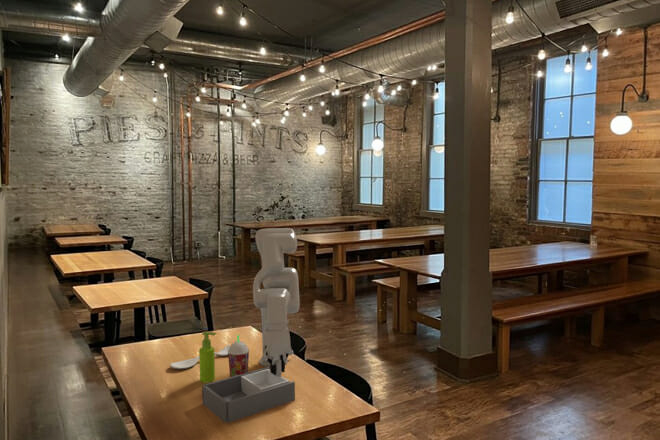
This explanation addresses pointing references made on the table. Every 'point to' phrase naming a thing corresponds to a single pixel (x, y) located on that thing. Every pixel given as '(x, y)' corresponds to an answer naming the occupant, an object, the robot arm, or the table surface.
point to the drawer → (262, 380)
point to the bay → (243, 398)
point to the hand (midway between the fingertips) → (277, 372)
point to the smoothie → (238, 358)
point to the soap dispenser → (207, 359)
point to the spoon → (193, 361)
